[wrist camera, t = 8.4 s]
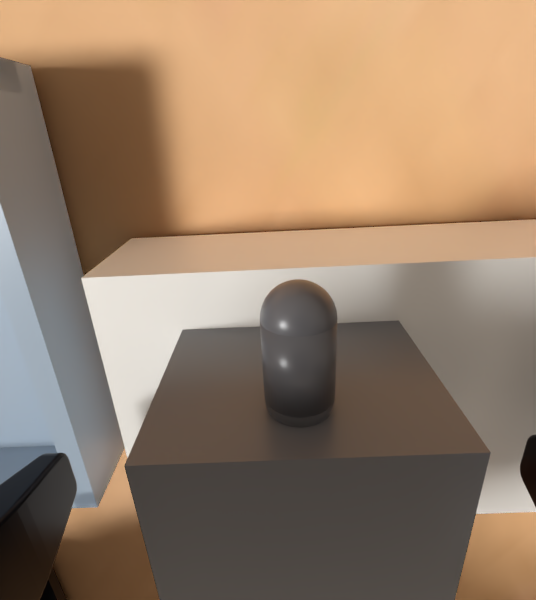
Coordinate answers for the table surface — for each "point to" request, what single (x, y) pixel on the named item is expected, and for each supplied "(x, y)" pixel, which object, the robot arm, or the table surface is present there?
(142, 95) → the table surface
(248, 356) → the grey block with knob
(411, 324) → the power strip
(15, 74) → the tray
